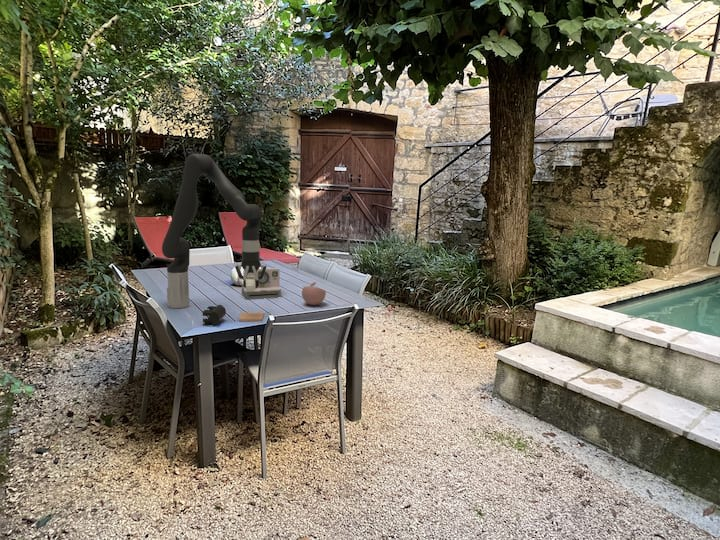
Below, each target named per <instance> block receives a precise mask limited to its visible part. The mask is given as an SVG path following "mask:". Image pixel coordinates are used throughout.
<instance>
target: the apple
mask: <svg viewBox="0 0 720 540" xmlns="http://www.w3.org/2000/svg"><path fill="white" fill-rule="evenodd" d="M315 285H317V283H316V282H315V281H314V282H313V283H310V286H303V287H302V289H301V296H302V297H301V298H302V299H303V301H304V302H305V303H306V304H307V305H310V306H317V305H320V304H322V302H324V301H325V298H326V294H327V292H326V290H325V289H323V288H320V287H317V286H315Z"/></svg>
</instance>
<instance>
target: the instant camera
mask: <svg viewBox="0 0 720 540" xmlns="http://www.w3.org/2000/svg"><path fill="white" fill-rule="evenodd" d="M242 270H243V272H242V276H244V273H245V270H244V269H242ZM257 271H258V275H259V276H261V273H262V270H261V268H259V269H258V270H257ZM280 274H281V273H280V269H279V268H278V267H274V268H273V267H271V268H270V267H266V270H265V273H264V276H263V278H262V279H259V287H258V288H256V290H255V291H246V288H245V287H244V286H243V285H241V294H242V296H243V299H244V300H246V301H247V300H248V301H249V300H265V299H264V298H267V299H279V298H278V297H282V288H281V286H280V285H281V284H280ZM248 276H255V275H254V273H248V275H247V277H248Z"/></svg>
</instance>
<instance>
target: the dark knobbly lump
mask: <svg viewBox="0 0 720 540" xmlns="http://www.w3.org/2000/svg"><path fill="white" fill-rule="evenodd" d="M226 314H227V310H226V308H225V306H223V305H221V304H218V305H217V306H207V309H204V310H203V311H202V316H203V317H207V318H202V323H203V326H204V325H214V326H215V325H217V324H218V323H219V322H221V320H222V319H223V318H224V317H225V316H226Z"/></svg>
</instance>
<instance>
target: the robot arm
mask: <svg viewBox="0 0 720 540" xmlns="http://www.w3.org/2000/svg"><path fill="white" fill-rule="evenodd" d="M183 167H184V168H183V174H182V179H181V184H180V189H179V192H178V197H177V199H176V202H175V206H174V210H173V214H172V217H171V221H170V224H169V227H168V229H167V231H166V234H165V236H164V239H163V241H162V246H161V252H162V254H163V257H165V258H167V259H173V260H172V262H171V263H170V264H168V265H167V267H166V272H167V287H166V299H167V308H172V309H182V308H183V309H184V308H187V307H189V306H190V286H189V285H190V284H189V267H190V254H191V253H190V252H191V250H190V244H189V241H188V240H187V239H186V238H185V237H181V236H182V235H183V233H184V231H185V230H186V229H187V228H188V227H189V226H190V224H191V223H192V222H193V220H194V219H195V217H196V215H197V212H198V207H199V197H198V194H197V193H198V192H197V185H198V181H199V179H200V176H206V177H208V178H209V179H210V180H211V181H213V183H214V184H215V186H216V187H217V191H218V192H219V194H220V195H221V197H222V198H223V199H224V200H225V201H226V202H227V203H228V204H229V205H230V206H231V207H232V209H233V211H234V212H235V214H236V215H237V216H238V217H239V219H241V220H243V221H245V222H246V224H245V225H244V226H243V227H242V229H241V232H242V234H241V235H242V237H241V238H242V240H241V264H237V265H235V266H234V267H235V270H236V273H237V277H238V279H240V280H243V282H242V283H243V285H242V286H244V287H245V288H246V278H247V275H248V273H254V275H255V278H256V280H255V283H256V288H258V287H259V279H262V278H263V276H264V273H265V270H266V268H268V267H267V265H265V264H264V265H263V264H261V261H260V260H261V259H260V258H261V257H260V255H261V254H260V251H261V250H260V249H261V246H260V237H259V236H260V235H259V232H260V228H261V227H260V226H261V222H262V216H263V215H262V214H263V213H262V210H261V207H260V206H259V205H258V204H255V203H252V204H251V203H250V204H249V203H247V202H246V197H245V195H244V194H243V193H242V192H241V191H240V190H239V189H238V188H237V187H236V186H235V185H234V184H233V183H232V182H231V181H230V180H229V179H228V177H227V176H226V175H225V174H224V172H223V171H222V170H221V168H220V167H219V166H218V164H217V163H216V162H215V161H214V159H213V158H212V157H211V156H210V155H208V154H205V153H191V154H189V155H188V156H187V158H186V159H185V162H184V166H183ZM258 269H261V270H262V273H261V276H259V275H258V271H257V270H258ZM241 270H245V273H244V276H243V272H242V271H241Z"/></svg>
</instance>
